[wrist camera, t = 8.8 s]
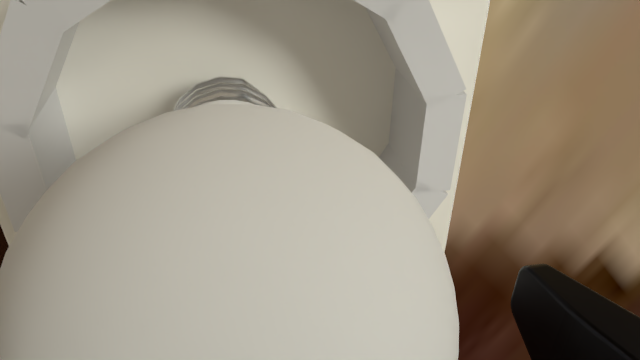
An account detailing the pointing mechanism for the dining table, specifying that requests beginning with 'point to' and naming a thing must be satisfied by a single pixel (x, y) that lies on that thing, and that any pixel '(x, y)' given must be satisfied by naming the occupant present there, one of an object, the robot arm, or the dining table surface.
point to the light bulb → (227, 246)
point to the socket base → (242, 62)
